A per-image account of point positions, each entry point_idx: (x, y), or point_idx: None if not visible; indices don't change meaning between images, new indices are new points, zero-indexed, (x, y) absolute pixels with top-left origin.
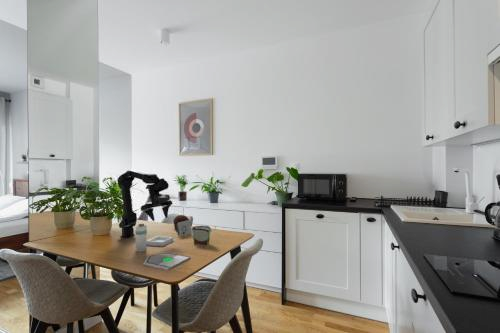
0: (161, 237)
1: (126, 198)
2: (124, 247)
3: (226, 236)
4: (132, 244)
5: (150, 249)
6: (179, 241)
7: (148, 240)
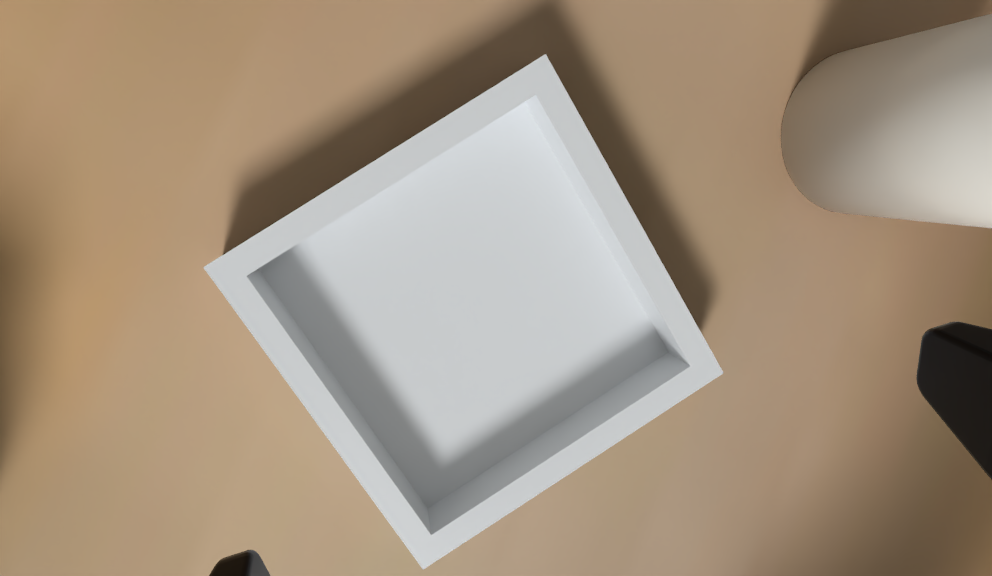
0: (383, 463)
1: None
2: None
3: None
4: (822, 513)
5: (746, 50)
6: (132, 130)
7: (677, 374)
